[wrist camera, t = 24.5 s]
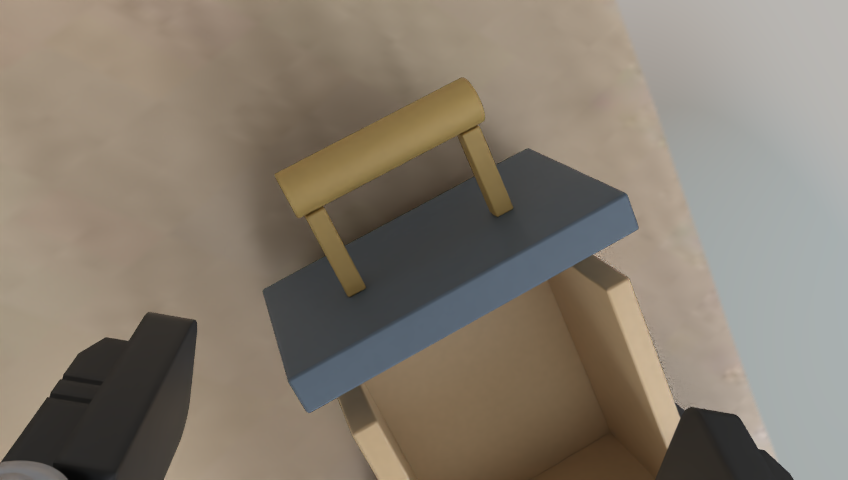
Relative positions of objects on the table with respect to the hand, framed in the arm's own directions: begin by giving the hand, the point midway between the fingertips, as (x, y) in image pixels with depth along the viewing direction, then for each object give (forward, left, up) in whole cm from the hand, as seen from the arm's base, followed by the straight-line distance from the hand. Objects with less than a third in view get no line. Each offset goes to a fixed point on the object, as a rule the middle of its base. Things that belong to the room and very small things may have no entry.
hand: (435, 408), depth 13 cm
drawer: (+4, +5, -15) cm, 16 cm away
